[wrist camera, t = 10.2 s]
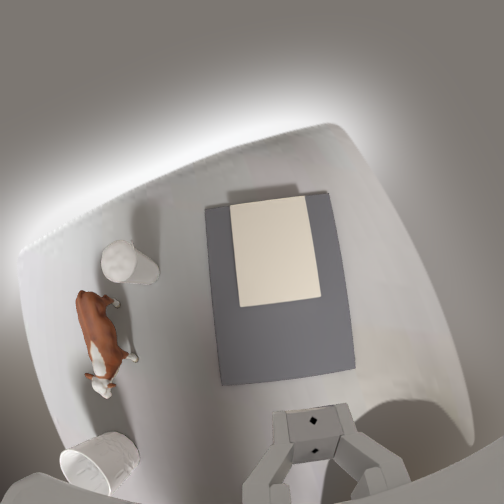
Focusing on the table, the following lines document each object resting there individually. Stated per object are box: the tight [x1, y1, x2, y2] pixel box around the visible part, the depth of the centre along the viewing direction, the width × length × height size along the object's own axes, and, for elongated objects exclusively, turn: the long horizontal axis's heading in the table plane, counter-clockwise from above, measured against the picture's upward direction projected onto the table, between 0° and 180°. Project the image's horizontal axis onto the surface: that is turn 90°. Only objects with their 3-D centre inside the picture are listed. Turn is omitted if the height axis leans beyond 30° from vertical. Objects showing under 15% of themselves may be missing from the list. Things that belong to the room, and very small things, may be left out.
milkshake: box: [101, 240, 160, 285], centre depth 31 cm, size 4×5×10 cm
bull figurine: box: [76, 290, 139, 399], centre depth 31 cm, size 4×13×8 cm, turn 17°
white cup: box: [60, 431, 140, 496], centre depth 26 cm, size 8×8×10 cm
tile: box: [230, 196, 321, 307], centre depth 34 cm, size 2×9×12 cm
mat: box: [205, 193, 356, 385], centre depth 34 cm, size 22×16×1 cm
